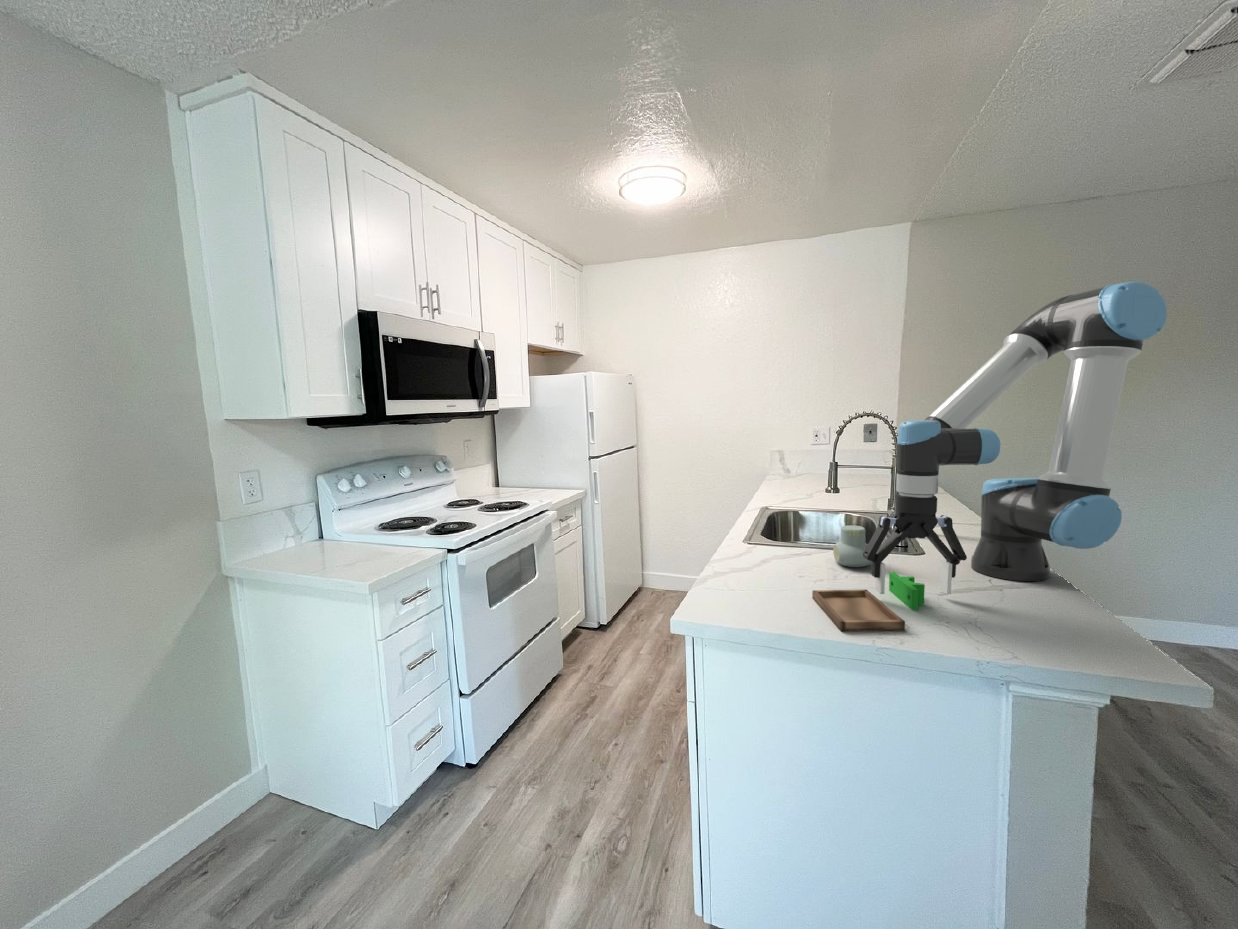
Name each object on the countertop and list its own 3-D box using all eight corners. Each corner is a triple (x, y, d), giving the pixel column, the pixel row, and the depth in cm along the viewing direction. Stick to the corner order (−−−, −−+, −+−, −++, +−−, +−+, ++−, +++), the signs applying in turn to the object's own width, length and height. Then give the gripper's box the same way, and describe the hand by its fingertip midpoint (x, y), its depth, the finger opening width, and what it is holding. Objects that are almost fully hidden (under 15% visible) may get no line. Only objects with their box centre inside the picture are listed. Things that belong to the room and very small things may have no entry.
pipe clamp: (931, 611, 101) (931, 589, 100) (911, 611, 101) (912, 589, 101) (906, 591, 112) (906, 571, 111) (888, 591, 112) (889, 571, 112)
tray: (866, 597, 109) (866, 589, 109) (904, 630, 92) (905, 621, 92) (812, 598, 110) (812, 590, 109) (840, 631, 93) (841, 622, 93)
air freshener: (831, 558, 138) (831, 522, 136) (863, 558, 136) (864, 523, 135) (841, 570, 127) (841, 532, 126) (875, 571, 125) (876, 533, 124)
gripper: (966, 490, 107) (962, 585, 109) (848, 491, 108) (845, 585, 111) (990, 496, 99) (984, 598, 102) (862, 497, 101) (859, 598, 103)
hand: (912, 592), depth 106 cm, fingers open, 13 cm apart
